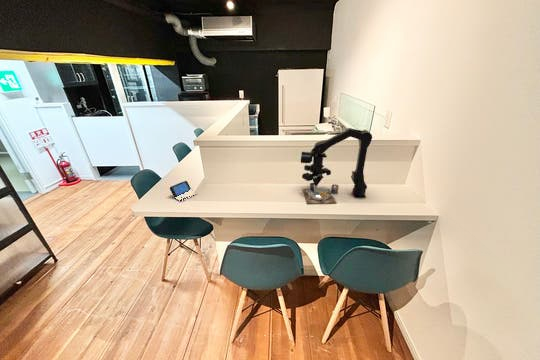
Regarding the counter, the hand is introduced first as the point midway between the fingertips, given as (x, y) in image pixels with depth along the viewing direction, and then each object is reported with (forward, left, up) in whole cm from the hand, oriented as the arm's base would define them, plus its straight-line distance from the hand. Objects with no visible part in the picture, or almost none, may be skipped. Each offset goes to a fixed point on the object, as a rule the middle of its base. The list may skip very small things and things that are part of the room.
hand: (315, 186), depth 135 cm
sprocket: (-1, +6, -3) cm, 7 cm away
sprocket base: (-1, +6, -4) cm, 7 cm away
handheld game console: (+84, +2, -5) cm, 84 cm away
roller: (-12, +1, -4) cm, 13 cm away
